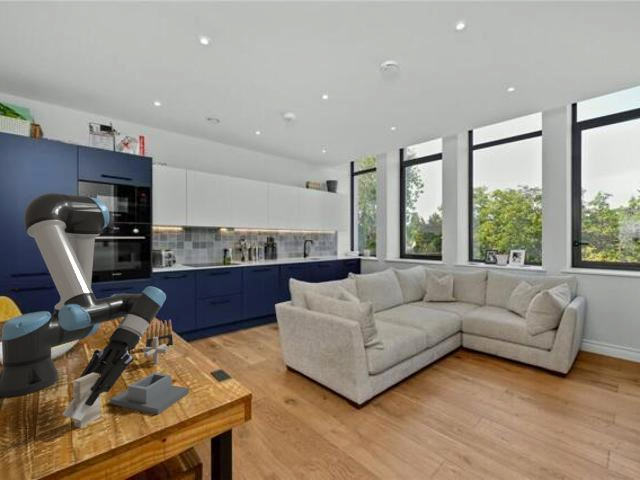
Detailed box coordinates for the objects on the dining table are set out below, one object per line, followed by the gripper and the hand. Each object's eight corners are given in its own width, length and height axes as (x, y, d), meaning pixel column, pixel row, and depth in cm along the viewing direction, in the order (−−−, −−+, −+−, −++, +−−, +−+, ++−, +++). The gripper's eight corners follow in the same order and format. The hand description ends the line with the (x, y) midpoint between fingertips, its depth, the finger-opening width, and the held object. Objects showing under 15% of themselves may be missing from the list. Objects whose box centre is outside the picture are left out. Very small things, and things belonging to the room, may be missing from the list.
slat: (74, 426, 79) (73, 380, 79) (93, 415, 84) (92, 372, 84) (80, 428, 78) (80, 382, 78) (100, 417, 83) (99, 373, 83)
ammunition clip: (146, 351, 130) (146, 323, 130) (145, 350, 131) (145, 322, 131) (172, 345, 137) (172, 318, 137) (171, 344, 139) (171, 318, 139)
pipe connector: (157, 369, 112) (157, 342, 112) (134, 367, 114) (134, 341, 114) (175, 358, 122) (175, 334, 122) (154, 356, 124) (153, 332, 124)
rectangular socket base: (110, 403, 90) (109, 385, 90) (144, 384, 101) (144, 368, 101) (158, 414, 84) (157, 394, 84) (189, 392, 96) (188, 375, 96)
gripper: (156, 341, 93) (104, 427, 78) (118, 336, 98) (62, 416, 82) (141, 329, 88) (82, 419, 72) (101, 324, 93) (38, 408, 77)
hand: (71, 417), depth 77 cm, fingers closed on slat, 2 cm apart
